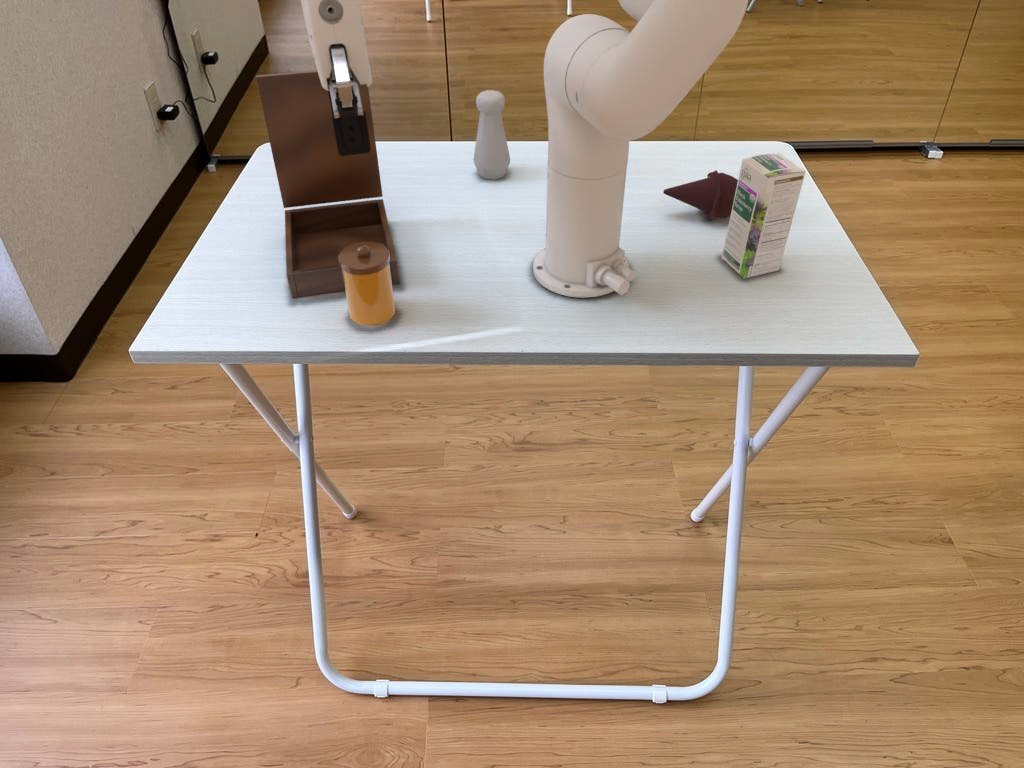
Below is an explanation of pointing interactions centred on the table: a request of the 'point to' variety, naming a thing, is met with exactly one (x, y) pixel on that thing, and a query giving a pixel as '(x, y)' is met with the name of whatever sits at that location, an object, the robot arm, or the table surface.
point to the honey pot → (367, 282)
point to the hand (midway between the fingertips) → (351, 133)
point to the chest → (331, 243)
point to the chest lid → (314, 143)
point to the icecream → (708, 194)
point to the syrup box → (762, 214)
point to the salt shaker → (491, 136)
